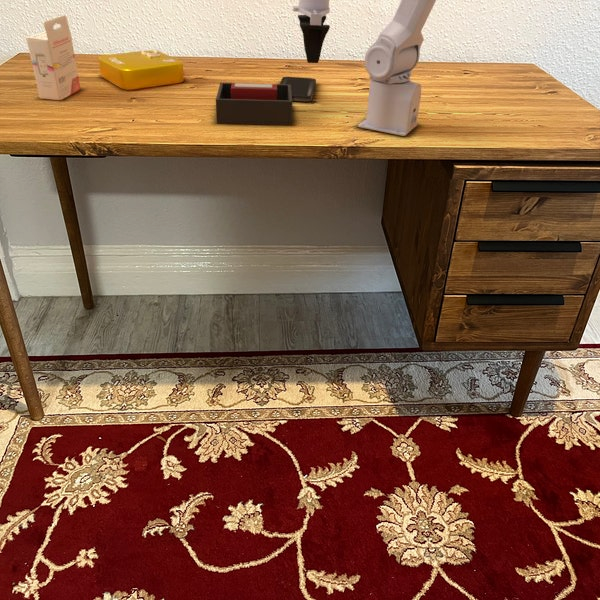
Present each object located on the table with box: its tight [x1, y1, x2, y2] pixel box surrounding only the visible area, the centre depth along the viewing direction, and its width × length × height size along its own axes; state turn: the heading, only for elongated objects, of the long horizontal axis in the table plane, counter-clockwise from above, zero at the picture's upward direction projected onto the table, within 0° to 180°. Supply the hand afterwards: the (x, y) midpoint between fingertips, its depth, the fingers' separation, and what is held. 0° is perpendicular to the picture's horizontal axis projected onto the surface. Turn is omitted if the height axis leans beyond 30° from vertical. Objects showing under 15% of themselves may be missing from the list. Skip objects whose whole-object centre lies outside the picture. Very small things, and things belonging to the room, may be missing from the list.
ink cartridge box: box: [25, 14, 81, 101], centre depth 120 cm, size 9×5×15 cm, turn 168°
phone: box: [279, 76, 317, 103], centre depth 131 cm, size 8×1×15 cm
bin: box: [215, 82, 293, 126], centre depth 116 cm, size 14×12×4 cm
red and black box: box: [231, 82, 277, 100], centre depth 116 cm, size 9×3×5 cm, turn 92°
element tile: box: [98, 49, 185, 91], centre depth 134 cm, size 15×15×5 cm
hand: (311, 58), depth 119 cm, fingers open, 7 cm apart
